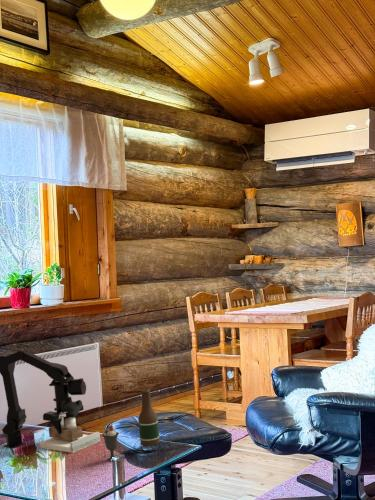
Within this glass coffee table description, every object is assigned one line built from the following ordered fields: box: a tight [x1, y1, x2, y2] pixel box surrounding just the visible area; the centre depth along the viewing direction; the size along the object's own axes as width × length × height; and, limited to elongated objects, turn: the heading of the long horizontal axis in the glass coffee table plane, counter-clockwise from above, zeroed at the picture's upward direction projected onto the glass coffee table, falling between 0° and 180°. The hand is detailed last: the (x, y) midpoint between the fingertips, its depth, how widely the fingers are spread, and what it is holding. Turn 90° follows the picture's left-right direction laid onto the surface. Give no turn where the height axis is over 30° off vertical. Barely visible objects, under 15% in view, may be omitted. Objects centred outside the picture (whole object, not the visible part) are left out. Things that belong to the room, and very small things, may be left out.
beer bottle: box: [138, 388, 161, 446], centre depth 286 cm, size 8×8×24 cm
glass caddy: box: [48, 415, 84, 441], centre depth 304 cm, size 14×6×8 cm, turn 53°
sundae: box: [101, 422, 120, 463], centre depth 277 cm, size 7×7×15 cm
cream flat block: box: [39, 431, 101, 454], centre depth 303 cm, size 20×16×4 cm
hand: (65, 431), depth 304 cm, fingers closed on glass caddy, 6 cm apart
